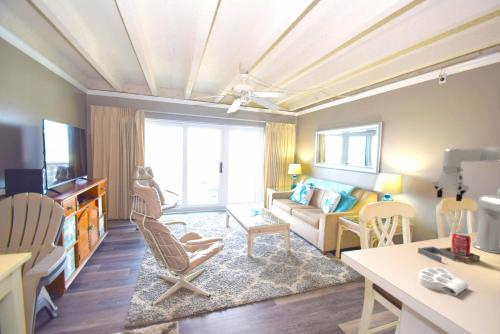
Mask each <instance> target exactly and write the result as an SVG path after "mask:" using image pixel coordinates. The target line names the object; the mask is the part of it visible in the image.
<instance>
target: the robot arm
mask: <svg viewBox="0 0 500 334" xmlns="http://www.w3.org/2000/svg"><path fill="white" fill-rule="evenodd" d="M462 162H463V163H466V162H467V163H474V162H484V163H485V162H489V163H491V162H493V163H494V162H495V163H497V162H500V146H486V147H485V146H484V147H475V148H472V147H471V148H446V149H445V150H444V152H443V162H442V163H443V164H442V171H441V172H440V175H439V178H438V180H437V181H435V182H433V186H434V189H435V190H436V198H439V199H440V198H443V193H444V192H443V190H451V191H456V193H457V194H456V195H455V196H456V197H455V201H456V202H462V200H463V195H464V194H466V193H467V192H468V190H469V189H470V187H469V186H468V185H466V184H464V177H463V173H462V172H463V171H464V169H463V168H462V167H461V166H462ZM477 208H478V209H477V210H478V219H477V232H476V239H475V240H476V241H475V242H471V243H472V244H471V245H472V247H473V248H476V249H477V250H480V251H483V252H486V253H487V252H488V253H494V254H499V255H500V187H499V188H498V190H497V191H496V195H494V194H493V195H492V194H484V195H481V196H480V197H479V198H478V200H477Z"/></svg>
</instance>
